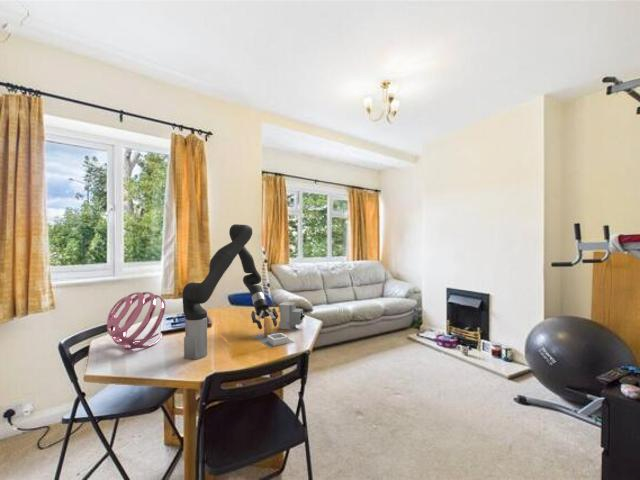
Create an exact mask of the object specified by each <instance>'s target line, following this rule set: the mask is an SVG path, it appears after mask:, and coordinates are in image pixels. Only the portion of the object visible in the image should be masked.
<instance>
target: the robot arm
mask: <svg viewBox="0 0 640 480" xmlns="http://www.w3.org/2000/svg"><path fill="white" fill-rule="evenodd" d="M228 235H229V238H230V240H231V242H229V243H227V244H225V245H224V246H222V247H220V248H219V249H218V250H217V251H216V252H215V253H214V254H213V256H212V257H211V259H210V261H209V269H208V274H207V275H206V276H205V278H204V280H203V281H202V282H188V283H187V284H185V286H184V287H183V290H182V309H183V310H182V312H183V314H184V316H185V319H184V320H185V321H184V322H185V327H184V328H185V331H184V334H185V336H184V337H183V359H184V360H185V359H186V360H187V359H188V360H195V361H196V360H198V359H202V358H205V357H206V356H207V355H208V312H207V310H206V309H205V308H203V307H202V305H203V304H205V303H206V302H208V300H209V299H210V298H211V297H212V295H213V294H214V291H215V289H216V288H217V285H218V283H219V282H220V281H221V278H222V277H223V276H224V274H225V272H226V271H227V270H228V269H229V267H230V266H231V264H232V263H233V261H234V260H235V258H236V257H237V256H238V257H239V260H240V263H241V266H242V270H243V272H244V273H245V274H246V275H244V276H243V277H242V281H243V284H244V286H245V287H246V288H247V289H248V292H249V294H250V296H251V300H252V304H253V307H254V310H255V311H254V310H252V312H251V313H250V316H251V321H252V323H253V324H256V325H257V328H258V329H259V330H262V328H263V327H262V326H263V325H262V322H261V321H260V320H261V319H262V320H264V317H267V316H270V317H272V323H273V324H272V325H273V327H274V328H275V327H277V325H278V321H277V320H278V318H279V314H278V312H277V310H276V308H275V307H273V308H272V309H270V307H269V306H270V305H269V304H268V303H269V302H268V300H267V298H266V295H265V293H264V291H263V287H262V286H261V285H259V284H260V283H261V282H262V276H261V274H260V273H259V272H258V270H257V268H256V267H257V266H256V265H255V259H254V256H253V255H252V254H251V253H250V251H249V250H248V249H247V248H246V245H247V244H248V242H249V241H250V240H251V238H252V236H253V228H252V227H251V226H250V225H248V224H240V223H239V224H237V223H236V224H232V225H231V226H230V228H229V234H228ZM201 304H202V305H201ZM256 315H257V318H256Z"/></svg>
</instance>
